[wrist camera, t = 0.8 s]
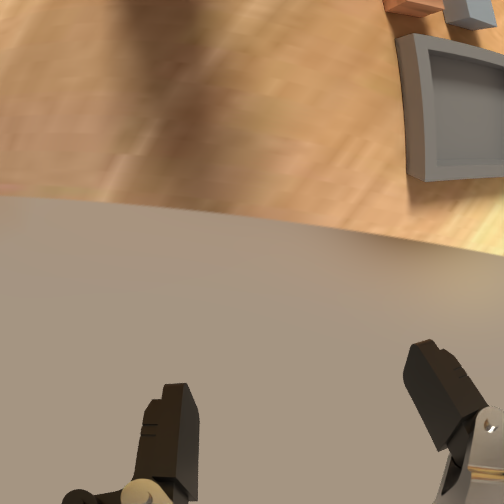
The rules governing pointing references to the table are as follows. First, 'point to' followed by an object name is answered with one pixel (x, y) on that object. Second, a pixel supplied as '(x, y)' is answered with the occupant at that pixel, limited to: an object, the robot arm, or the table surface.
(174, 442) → the robot arm
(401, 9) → the terracotta block
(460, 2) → the grey block
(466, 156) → the charcoal tray
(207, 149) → the table surface
